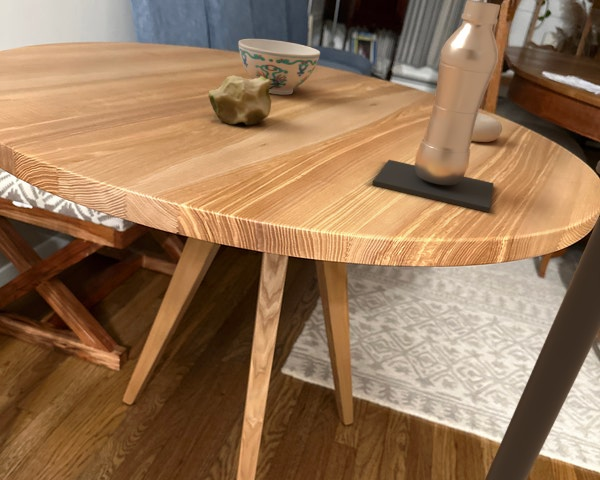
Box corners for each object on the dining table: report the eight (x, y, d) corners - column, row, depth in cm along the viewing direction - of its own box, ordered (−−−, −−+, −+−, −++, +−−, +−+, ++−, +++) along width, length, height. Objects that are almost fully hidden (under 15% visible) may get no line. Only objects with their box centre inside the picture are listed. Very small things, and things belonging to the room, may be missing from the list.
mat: (492, 187, 74) (493, 183, 73) (489, 212, 65) (490, 207, 65) (387, 163, 77) (388, 159, 76) (371, 185, 68) (372, 180, 68)
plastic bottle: (412, 186, 68) (457, -1, 58) (409, 169, 74) (450, -4, 63) (465, 195, 68) (520, 9, 57) (458, 177, 73) (507, 5, 63)
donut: (431, 134, 94) (490, 148, 90) (436, 113, 93) (496, 126, 89) (450, 125, 102) (505, 138, 98) (455, 105, 100) (511, 117, 96)
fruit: (272, 126, 90) (286, 76, 85) (252, 145, 83) (266, 92, 78) (220, 104, 91) (230, 54, 86) (195, 121, 83) (205, 67, 78)
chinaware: (328, 94, 110) (334, 52, 106) (287, 104, 99) (293, 57, 95) (264, 78, 116) (268, 37, 112) (219, 85, 105) (221, 40, 101)
